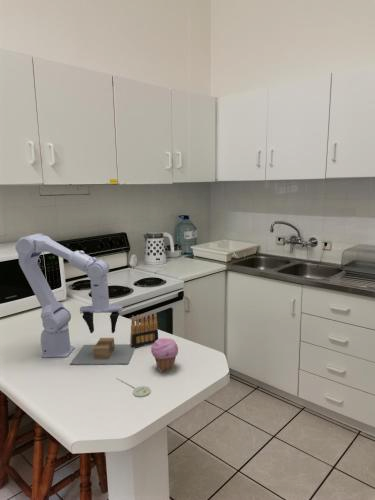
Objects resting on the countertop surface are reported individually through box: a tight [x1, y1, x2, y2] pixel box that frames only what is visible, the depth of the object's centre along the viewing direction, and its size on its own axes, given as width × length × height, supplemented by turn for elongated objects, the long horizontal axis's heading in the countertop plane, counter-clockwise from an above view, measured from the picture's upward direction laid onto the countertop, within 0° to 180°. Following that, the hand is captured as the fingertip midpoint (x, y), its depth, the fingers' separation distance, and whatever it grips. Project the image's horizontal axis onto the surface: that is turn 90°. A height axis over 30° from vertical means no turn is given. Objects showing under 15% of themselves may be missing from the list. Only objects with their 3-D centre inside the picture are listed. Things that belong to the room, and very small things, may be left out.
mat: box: [69, 343, 136, 366], centre depth 134 cm, size 20×15×1 cm
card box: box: [93, 337, 115, 359], centre depth 134 cm, size 9×5×4 cm, turn 177°
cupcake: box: [150, 337, 179, 372], centre depth 122 cm, size 9×9×10 cm
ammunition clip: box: [129, 311, 159, 348], centre depth 140 cm, size 11×2×12 cm, turn 119°
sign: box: [115, 377, 152, 398], centre depth 113 cm, size 5×1×15 cm
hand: (102, 332), depth 132 cm, fingers open, 7 cm apart
